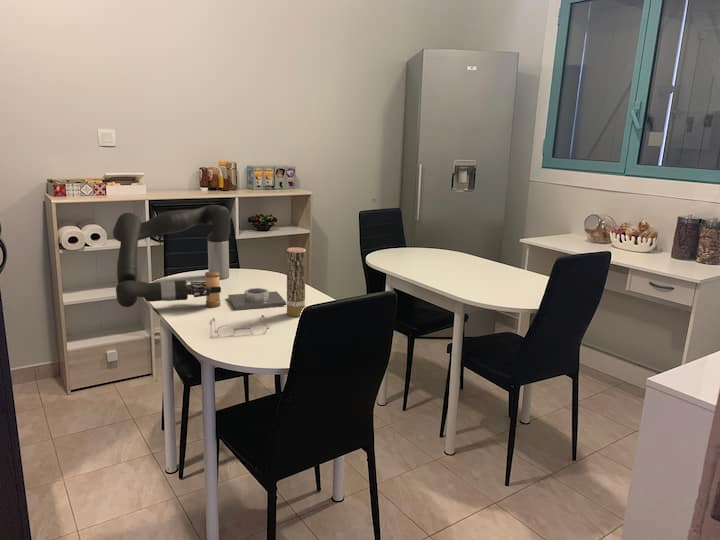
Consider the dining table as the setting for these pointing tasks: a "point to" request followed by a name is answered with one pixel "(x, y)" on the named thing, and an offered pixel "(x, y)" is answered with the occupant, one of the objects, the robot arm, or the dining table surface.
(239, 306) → the plate
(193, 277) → the dining table surface
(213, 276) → the capped orange cylinder
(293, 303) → the paper tube
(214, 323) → the eyeglasses
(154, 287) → the robot arm
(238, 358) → the dining table surface
